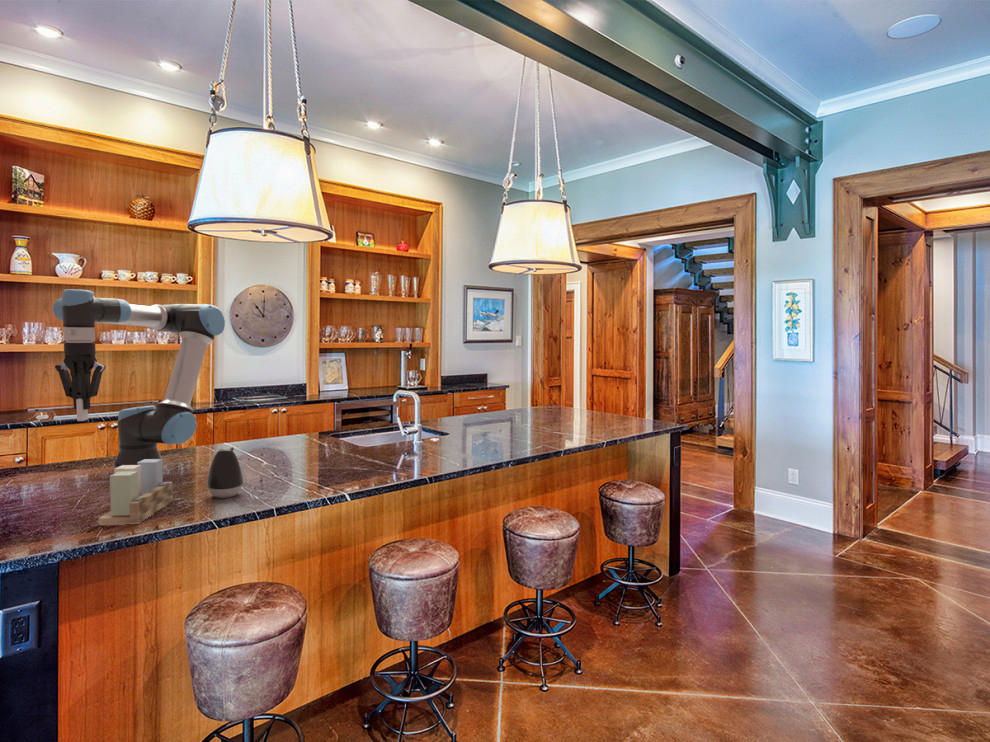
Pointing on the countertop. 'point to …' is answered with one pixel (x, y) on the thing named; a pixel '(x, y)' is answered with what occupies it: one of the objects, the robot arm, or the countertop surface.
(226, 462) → the pump dispenser
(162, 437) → the robot arm
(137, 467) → the cream rectangular block
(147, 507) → the wooden key holder base
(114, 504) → the pale green tall block
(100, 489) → the countertop surface
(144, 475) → the slate key
